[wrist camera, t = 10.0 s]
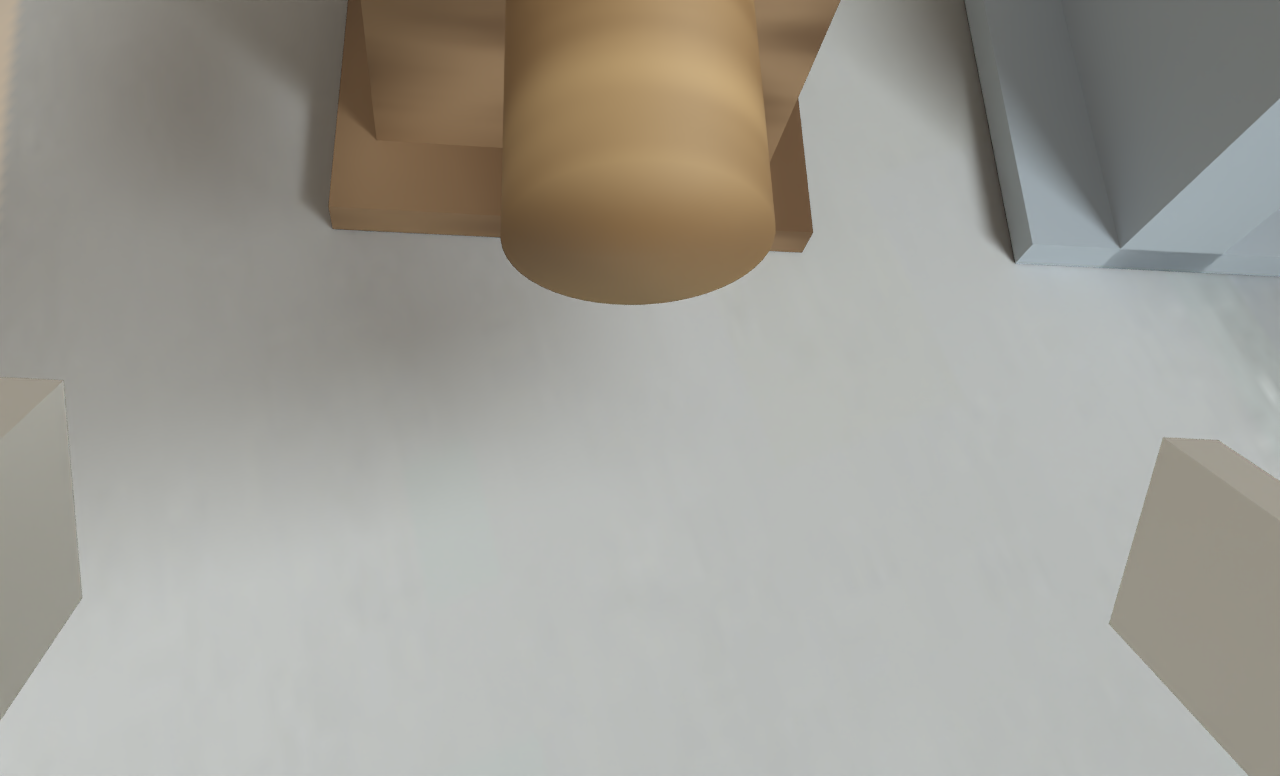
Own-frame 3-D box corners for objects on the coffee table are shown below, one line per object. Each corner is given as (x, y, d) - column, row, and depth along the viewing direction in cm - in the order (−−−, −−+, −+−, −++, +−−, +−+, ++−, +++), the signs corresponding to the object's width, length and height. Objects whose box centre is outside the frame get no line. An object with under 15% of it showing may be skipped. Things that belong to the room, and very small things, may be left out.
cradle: (1190, -23, 35) (1402, -282, 27) (1280, 276, 31) (1564, 70, 23) (955, -45, 34) (1106, -323, 26) (1015, 263, 30) (1218, 40, 22)
